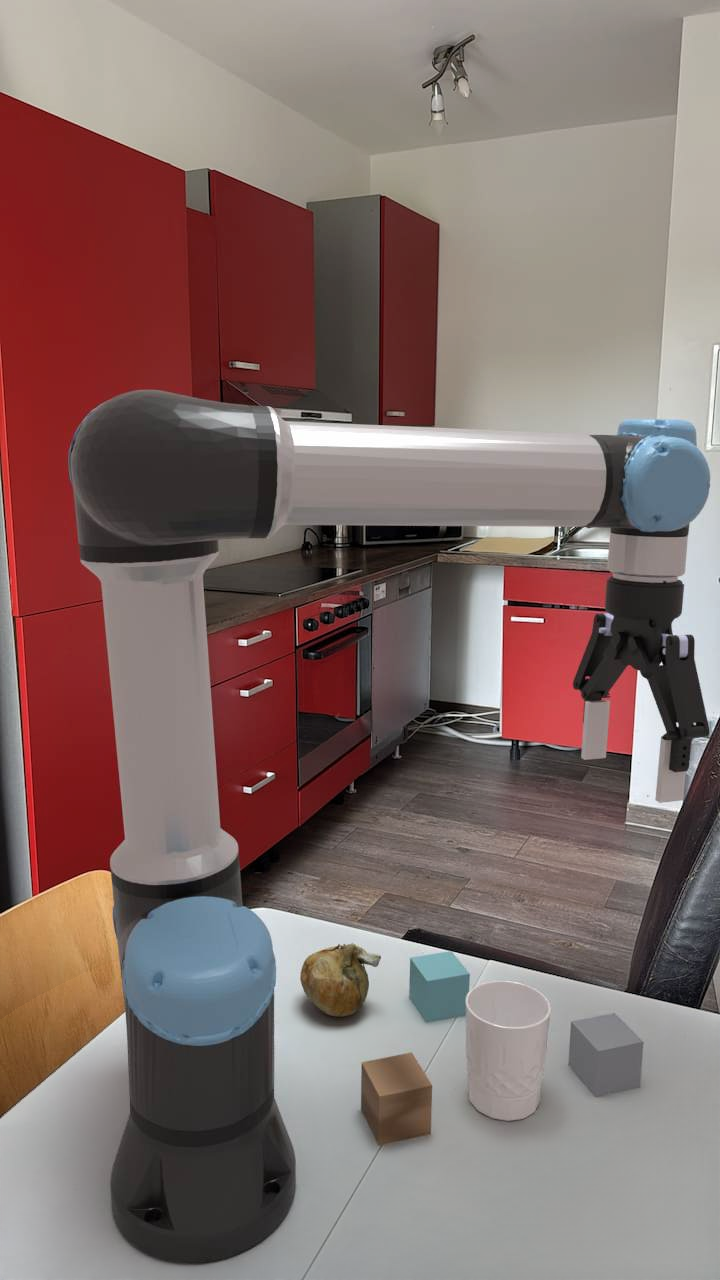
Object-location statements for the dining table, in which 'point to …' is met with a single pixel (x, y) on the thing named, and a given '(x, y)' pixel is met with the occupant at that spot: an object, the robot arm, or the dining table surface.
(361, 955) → the onion
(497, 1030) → the white cup
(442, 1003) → the dusty teal block
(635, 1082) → the slate grey block
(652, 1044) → the dining table surface
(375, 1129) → the walnut block
